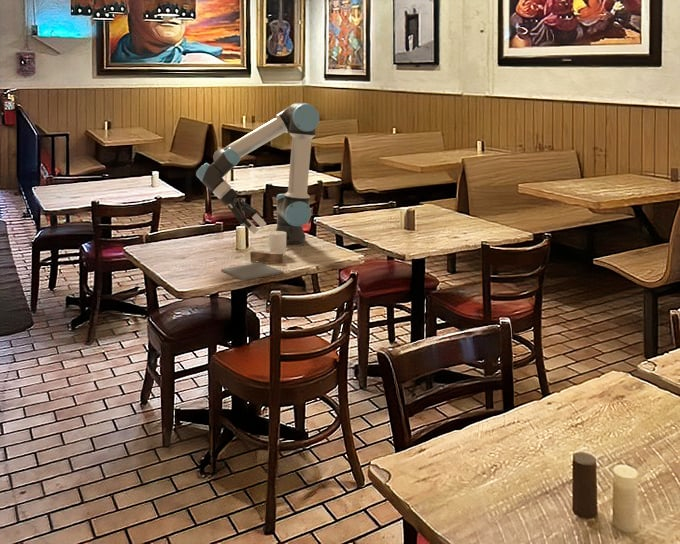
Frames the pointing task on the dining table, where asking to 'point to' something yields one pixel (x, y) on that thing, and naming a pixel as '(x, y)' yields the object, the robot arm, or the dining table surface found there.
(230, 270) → the grey mat
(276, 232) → the white cup
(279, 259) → the walnut rail
